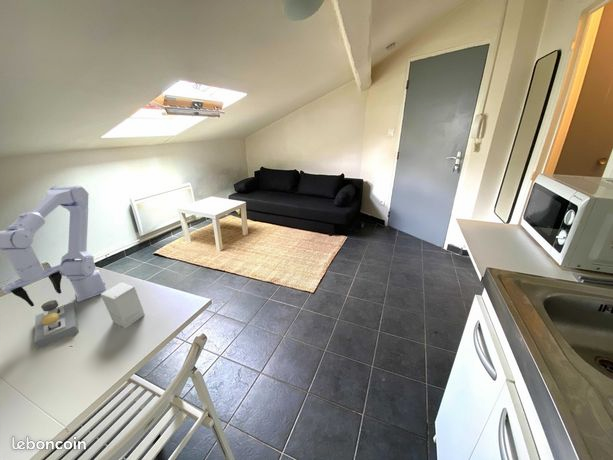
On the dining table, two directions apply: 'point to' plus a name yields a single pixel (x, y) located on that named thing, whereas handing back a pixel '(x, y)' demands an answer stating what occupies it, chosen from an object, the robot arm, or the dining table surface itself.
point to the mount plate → (66, 329)
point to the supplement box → (123, 304)
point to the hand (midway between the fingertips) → (45, 298)
